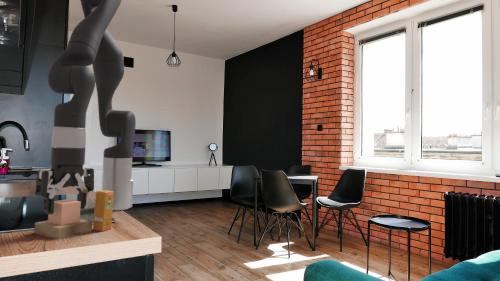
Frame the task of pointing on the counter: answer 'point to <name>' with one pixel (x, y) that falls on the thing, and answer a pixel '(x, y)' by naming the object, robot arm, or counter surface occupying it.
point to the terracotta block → (65, 212)
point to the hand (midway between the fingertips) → (65, 211)
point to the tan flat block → (62, 229)
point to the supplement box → (103, 210)
